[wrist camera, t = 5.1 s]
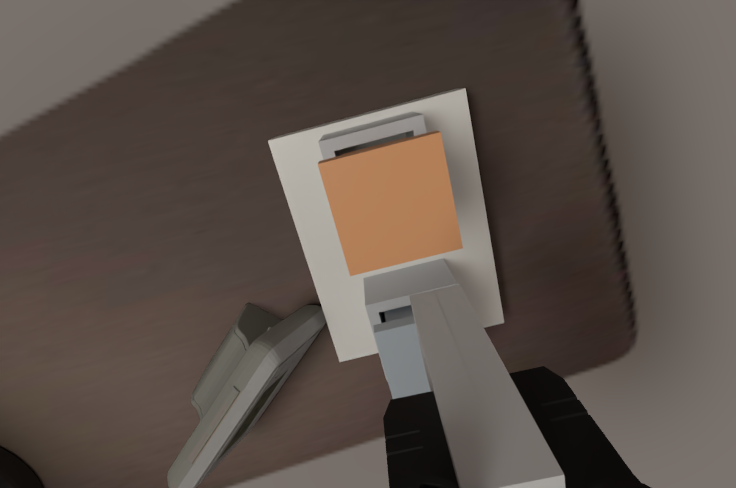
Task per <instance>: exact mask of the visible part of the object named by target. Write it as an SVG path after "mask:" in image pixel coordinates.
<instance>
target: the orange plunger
mask: <svg viewBox="0 0 736 488" xmlns="http://www.w3.org/2000/svg"><path fill="white" fill-rule="evenodd" d="M318 167H319V171H320V174H321V178H322V181H323V185H324V188H325V191H326V195H327V198H328V202H329V205H330V209H331V212H332V215H333V219H334V222H335V226H336V229H337V233H338V236H339V239H340V243H341V246H342V250H343V253H344V257H345V260H346V263H347V267H348V270H349V274H350V276H353V275H357V274H361V273H365V272H369V271H373V270H377V269H381V268H386V267H390V266H394V265H398V264H402V263H406V262H410V261H414V260H418V259H422V258H426V257H430V256H434V255H438V254H442V253H446V252H450V251H454V250H458V249H462V248H463V246H462V241H461V235H460V230H459V225H458V220H457V214H456V209H455V204H454V199H453V193H452V188H451V183H450V178H449V172H448V167H447V162H446V157H445V151H444V146H443V141H442V135H441V132H440V131H437V130H436V131H432V132H428V133H425V134H421V135H417V136H413V137H409V138H408V137H406V138H402V139H398V140H394V141H390V142H387V143H383V144H379V145H375V146H371V147H368V148H364V149H360V150H356V151H352V152H349V153H345V154H342V155H341V156H337V157H333V158H329V159H325V160H322V161H319V162H318Z"/></svg>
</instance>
